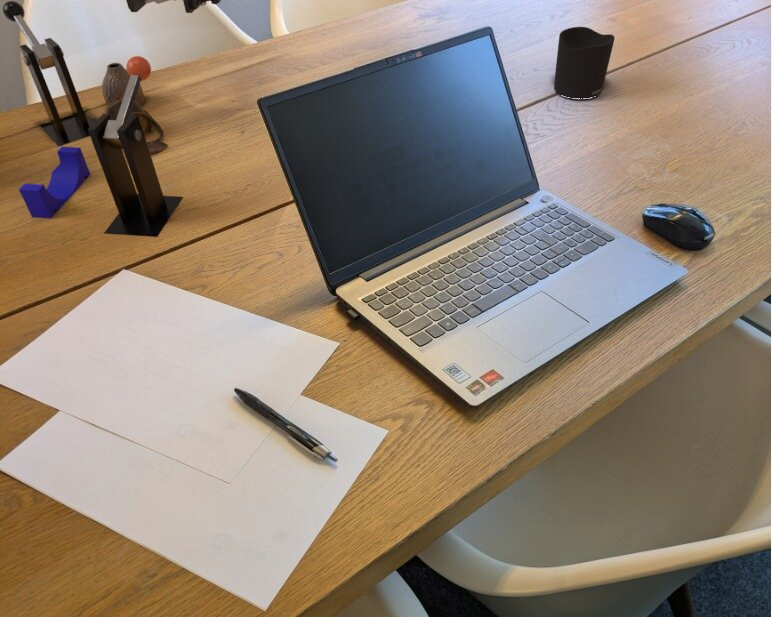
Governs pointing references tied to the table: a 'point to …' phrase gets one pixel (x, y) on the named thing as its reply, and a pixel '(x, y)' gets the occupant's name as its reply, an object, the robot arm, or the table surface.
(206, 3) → the robot arm
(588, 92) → the pen holder
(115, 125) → the front lever
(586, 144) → the table surface
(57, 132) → the back bracket
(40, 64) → the back lever
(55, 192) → the blue curved cradle
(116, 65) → the vase
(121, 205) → the front bracket
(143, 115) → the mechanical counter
